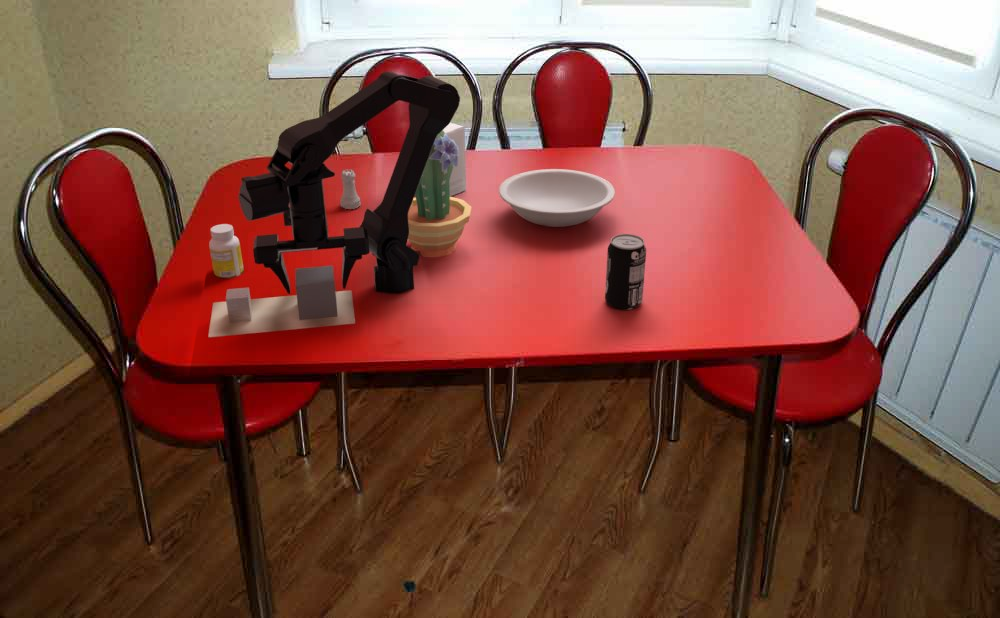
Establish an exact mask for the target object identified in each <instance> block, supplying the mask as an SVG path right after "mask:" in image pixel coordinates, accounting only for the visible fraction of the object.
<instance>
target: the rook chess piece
mask: <svg viewBox="0 0 1000 618" xmlns="http://www.w3.org/2000/svg"><path fill="white" fill-rule="evenodd" d="M356 176H357V175H356V173H355V172H354V170H352V169H345V170H342V171H341V174H340V178H341V180H342V182H341V183H342V186H343V189H342V195H341V197H340V204H339V205H340V207H341V208H342V207H343V208H345V209H344V210H346V209H353V210H356V209H355V208H357V209H359V208H360V207H361V205H362V203H361V198H360V196H359V195H358V193H357V189H356V185H355V184H356V180H355V178H356ZM359 206H360V207H359ZM358 207H359V208H358ZM343 208H342V209H343Z"/></svg>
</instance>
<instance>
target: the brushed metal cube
mask: <svg viewBox="0 0 1000 618" xmlns="http://www.w3.org/2000/svg"><path fill="white" fill-rule="evenodd" d="M225 295H226V296H225V302H226V303H227V310H228V316H229V322H230V323H233V322H243V321H252V305H251V293H250V287H239V288H228V289H226V294H225Z"/></svg>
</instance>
